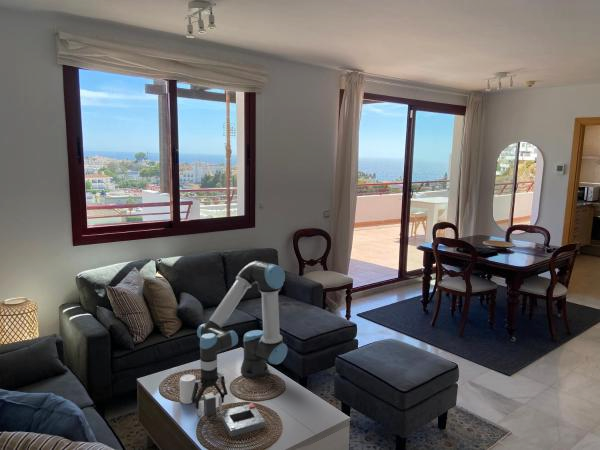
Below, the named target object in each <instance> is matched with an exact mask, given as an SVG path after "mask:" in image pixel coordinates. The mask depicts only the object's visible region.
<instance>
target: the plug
mask: <svg viewBox="0 0 600 450" xmlns="http://www.w3.org/2000/svg"><path fill="white" fill-rule="evenodd" d="M214 394H215V393H213V392H211V393H206V394H203V413H205V416H206V417H209V416H212V414H213V415H216V414H217V404H216V403H217V401H216V400H217V398H216V396H215V395H214ZM215 413H216V414H215Z"/></svg>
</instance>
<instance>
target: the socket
mask: <svg viewBox="0 0 600 450" xmlns="http://www.w3.org/2000/svg"><path fill="white" fill-rule="evenodd" d="M219 418H220V420H221V422H222V424H223V426H224V427H225V430H226V431H227V433H228V434H229V436H230V438H232V437H236V436H239V435H243V434H246V433H249V432H254V431H256V430H260V429H263V428H266V420H265V419H264V417H263V416H262V414H261V413H260V412H259V410H258V408H257V407H256V406H255V404H254V403H253V402H251V403H248V404H244V405H240V406H236V407H232V408H227V409H224V410H222V411H220V410H219Z"/></svg>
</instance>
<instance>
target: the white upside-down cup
mask: <svg viewBox="0 0 600 450" xmlns="http://www.w3.org/2000/svg"><path fill="white" fill-rule="evenodd" d="M194 380H196V381H197V377H196V375H194V374H192V373H187V374H184V375H181V376H180V378H179V384H178V386H179V387H178V388H179V402H180V403H181V404H185V405H189V404H193V403H192V401H191V398H192V393H193V389H194ZM196 396H197V395H196Z"/></svg>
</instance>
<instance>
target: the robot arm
mask: <svg viewBox="0 0 600 450" xmlns="http://www.w3.org/2000/svg"><path fill="white" fill-rule="evenodd" d="M285 281H286V274H285V270H284V269H283V267H281V266H279V265H276V264H275V263H269V262H264V261H260V260H254V261H251V262H249V263H247V264H246V265H245V266H244V267H243V268H242V269H241V270H240V271H239V272H238V273H237V274H236V276H235V281H234V283H233V284H232V285H231V287H230V288H229V290H228V291H227V293H226V294H225V296H224V297H223V298H222V300H221V302H220V303H219V304H218V306H217V308H216V309H215V310H214V312H213V313H212V315H211V316H210V318H209V319H208V321H207V323H202V324H200V325H199V326H198V328H197V330H196V334H197V337H198V338H199V339H200V340H199V350H200V351H199V353H200V357H199V358H200V379H198V380H197V379H196V380H194V389H193V393H192V398H191V401H192V403H191V404H195V409H196V410H197V414H198V417H201V415H202V414H201V413H202V412H201V411H202V410H201V409H202V407H201V401H200V400H201V399H202V396H204V392H205V390H206V389H207V388H210V387H211V388H212V387H215V389H216V390H217V392H218V409H219V412H220V411H223V403H224V402H225V399H224V398H225V396H228V390H227V387H226V383H225V376H224V375H223V374H222V373H221V374H220V375H218V353H220V352H223V351H225V350H227V349H231V348H233V347H235V346H236V345H237V344H238V343H239V336H238V333H236V331H235V330H233V329H232V330H227V331H224V330H222V328H223V326H224V325H225V323H226V322H227V320H228V319H229V318H230V316H231V314H232V313H233V311H235V309H236V308H237V306H238V304H239V303H240V302H241V300H242V299H243V297H244V296H245V293H246V292H247V290H248V289H251V288H252V286H253V285H254V284H256V285H257V288H258V289H257V290H258V292H260V293H261V294H260V295H261V313H262V314H261V317H262V330H260V329H255V330H254V329H253V330H249V331H247V332H246V333H244V335H243V340H242V341H243V362H242V363H241V366H240V373H241V375H242V376H243V377H245V378H248V379H249V378H250V379H257V378H258V379H259V378H262V377H264V376H266V375H268V372H269V367H268V363H269V364H272V365H279V364H281V363H282V362H283V361H284V360H285V359H286V357H287V354H288V345H287V344H286V343H284V341H283V335H281V334H280V309H279V292H280V291H281V290H282V287H283V286H284V282H285ZM218 380H219V381H220V384H221V388H222V390H221V389H220V387H219V385H218V384H217V382H218ZM200 383H201V384H200ZM200 385H201V386H200ZM199 386H200V389H199ZM198 389H199V390H198ZM196 395H197V396H196Z"/></svg>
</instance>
